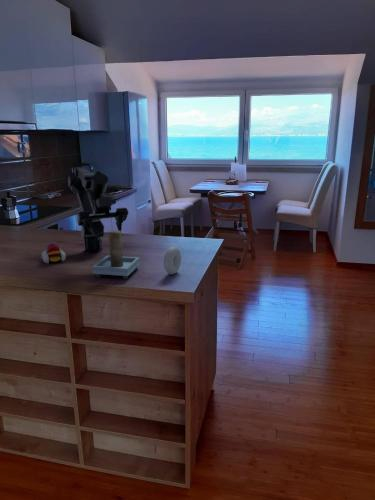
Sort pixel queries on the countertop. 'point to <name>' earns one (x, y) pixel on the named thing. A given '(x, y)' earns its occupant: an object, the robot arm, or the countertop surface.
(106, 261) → the tray
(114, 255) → the walnut spindle
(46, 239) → the countertop surface
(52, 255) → the red yellow rounded shape
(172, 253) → the donut
